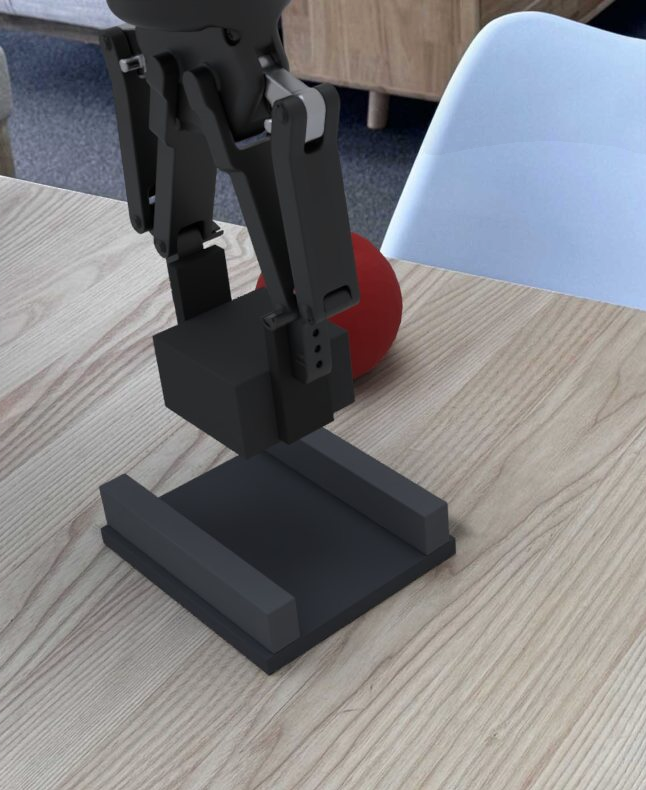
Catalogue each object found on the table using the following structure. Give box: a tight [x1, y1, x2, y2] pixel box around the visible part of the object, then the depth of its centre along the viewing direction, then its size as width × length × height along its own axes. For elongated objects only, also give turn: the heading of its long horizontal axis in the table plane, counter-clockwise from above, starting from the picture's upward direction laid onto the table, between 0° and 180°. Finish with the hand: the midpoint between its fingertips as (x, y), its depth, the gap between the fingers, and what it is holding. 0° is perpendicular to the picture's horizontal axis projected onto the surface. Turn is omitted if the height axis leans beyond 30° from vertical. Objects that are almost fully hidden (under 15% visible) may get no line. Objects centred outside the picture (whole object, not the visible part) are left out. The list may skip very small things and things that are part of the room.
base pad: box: [98, 426, 457, 676], centre depth 71 cm, size 14×12×4 cm
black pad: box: [151, 287, 356, 460], centre depth 66 cm, size 6×6×4 cm
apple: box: [254, 231, 404, 380], centre depth 84 cm, size 9×9×10 cm
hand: (259, 400), depth 67 cm, fingers closed on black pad, 6 cm apart
